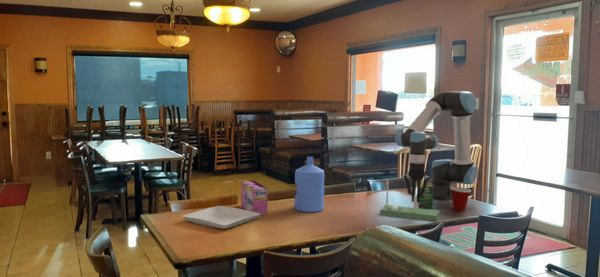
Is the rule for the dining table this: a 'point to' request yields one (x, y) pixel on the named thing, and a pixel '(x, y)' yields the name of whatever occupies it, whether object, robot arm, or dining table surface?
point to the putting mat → (411, 212)
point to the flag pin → (387, 193)
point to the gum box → (254, 197)
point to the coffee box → (426, 197)
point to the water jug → (309, 188)
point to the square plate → (221, 217)
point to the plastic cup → (459, 198)
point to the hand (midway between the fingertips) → (415, 208)
